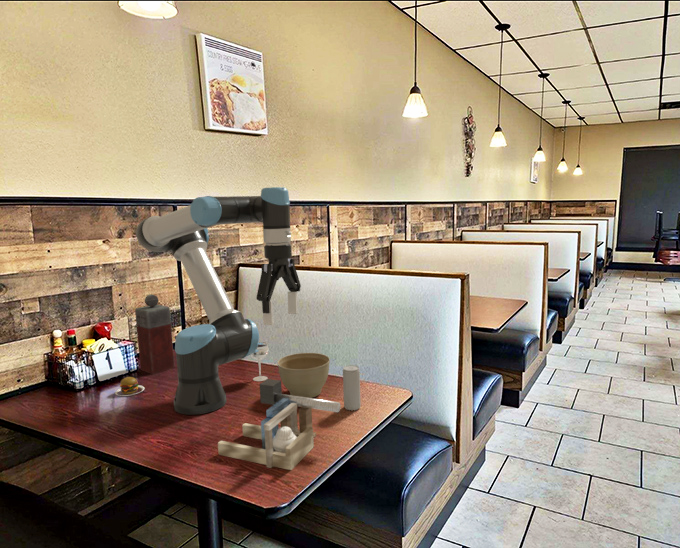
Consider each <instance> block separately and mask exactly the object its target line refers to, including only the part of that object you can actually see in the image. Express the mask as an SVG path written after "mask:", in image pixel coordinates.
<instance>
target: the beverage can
mask: <svg viewBox="0 0 680 548" xmlns="http://www.w3.org/2000/svg"><path fill="white" fill-rule="evenodd" d="M342 369H343V370H342V383H343V384H342V386H343V387H342V388H343V408H345V410H347V411H350V410H351V411H352V412H353V410H354V411H357V410H359V409H360V408H361V407H362V406H361V402H362V401H361V376H360V375H361V372H360V370H361V369H360V367H359V366H358V365H356V364H355V365H353V364H350V365H345V366H343V368H342ZM351 411H350V412H351Z"/></svg>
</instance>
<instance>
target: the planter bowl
mask: <svg viewBox="0 0 680 548" xmlns="http://www.w3.org/2000/svg"><path fill="white" fill-rule="evenodd" d="M330 361H331V359H330V357H329V356H327V355H326V354H322V353H318V352H300V353H299V352H298V353H292V354H289V355H286V356H283V357H281V358H280V359H278V360H277V367H278V374H279V377H280V379H281V380H280V381H281V383H282V384H283V386H284V387H285V389H287V390H288V391H289V395H293V396H299V397H306V398H313V399H314V398H315V397H317V396H319V395H320V394H321V392H322V390H323V388H324V385H325V384H326V381H327V379H328V377H329V372H330V363H331V362H330Z"/></svg>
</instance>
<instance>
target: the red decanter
mask: <svg viewBox="0 0 680 548" xmlns="http://www.w3.org/2000/svg"><path fill="white" fill-rule="evenodd" d="M144 303H145V305H146V306H141V307H136V308H135V310H134V312H135V323H136V331H137V332H136V333H137V344H138V355H139V365H140V371H143V372H145V373H147V374H149V375H155V374H158V373H162V372H166V371H168V370H171V369H174V368H175V356H174V346H173V332H172V320H171V309H170V307H169V306H166V305H161V304H159V297H158V296H157V295H156V294H147V295H146V297H145V299H144Z"/></svg>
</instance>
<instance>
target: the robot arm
mask: <svg viewBox="0 0 680 548" xmlns="http://www.w3.org/2000/svg"><path fill="white" fill-rule="evenodd" d="M260 192H261V193H260V195H249V196H248V195H247V196H245V195H244V196H243V195H242V196H241V195H240V196H239V195H238V196H234V195H233V196H213V195H212V196H211V195H205V196H198V197H196V198H194V199H193V200H192V202H191V204H189V205H187V206H185V207H182V208H180V209H177V210H174V211H172V212H169V213H167V214H164V215H161V216H159V215H152V216H149V217H147V218H144V219H142V220H141V221H140V222H139V223H138V225H137V227H136V229H135V237H136V240H137V241H138V243H139V244H140V245H141V247H143V248H144V249H146V250H148V251H151V252H155V253H164V252H165V253H166V252H171V253H172V255H173V258H174V260H176V261H179V262H181V263H182V265H183V268H184V270H185V272H186V274H187V276H188V278H189V280H190V283H191V285H192V287H193V289H194V291H195V293H196V295H197V297H198V299H199V302H200V303H201V306H202V308H203V310H204V312H205V314H206V316H207V319H208V320H209V322H208V323H203V324H199V325H197V324H196V325H192V326H188V327H186V328H185V329H182V330H180V331H179V332H178V333H177V335H175V338H174V341H175V342H174V344H175V345H174V351H175V358H176V370H177V379H178V381H177V387H176V391H175V394H174V395H175V397H174V399H173V409H174V411H175V412H176V413H178V414H181V415H194V416H195V415H203V414H208V413H212V412H214V411H217V410H219V409H221V408H222V407H224V406H225V405H226V403H227V395H226V392H225V390H224V387H223V385H222V383H221V380H220V375H219V366H221V365H224V364H225V365H226V364H229V363H231V362H234V361H237V360H240V359H241V360H242V359H245V358H246V357H249V356H250V355H251V354H253V353H254V352H255V351H256V349H257V347H258V344H259V342H260V333H259V329H258V327H257V326H258V325H257V324H256V322H254V321H253V320H251V319H249V318H245V317H244V316H243V314H242V311H239V310H237V309H235V308H234V306H233V303H232V302H231V300H230V298H229V296H228V294H227V292H226V290H225V288H224V286H223V283H222V281H221V280H220V277H219V275H218V274H217V272H216V270H215V267H214V265H213V263H212V261H211V259H210V257H209V255H208V253H207V251H206V250H207V249H208V243H209V240H210V235H209V229H208V228H213V227H216V226H219V225H232V224H252V223H253V224H254V223H262V230H263V231H262V233H263V234H262V235H263V243H264V244H265V245H264V247H263V249H264V251H263V252H264V258H265V259H267V260H268V263H262V264H261V274H260V279H259V283H258V288H257V293H256V296H255V298H256V300H257V301H259V302H261V307H262V321H263V325H264V326H268V325H269V326H273V325H275V324H274V323H275V322H274V308H273V300H271V299H272V296H273V294H274V290H275V289H276V284H277V282H278V281H279V280H280V279H282V280H283V282H284V283H285V286H286V287H287V289H288V291H287V307H288V308H287V310H288V312H287V313H288V315H289V314H290V315H298V314H299V310H298V309H299V308H298V292H301V287H302V285H301V281H300V278H299V276H298V271H297V270H296V264H295V259H294V258H292V256H293V251H292V245H291V244H290V243H291V242H292V237H291V236H292V232H291V215H290V214H291V211H290V210H291V209H290V204H291V201H290V196H289V195H290V194H289V189H288V188H286V187H284V186H283V187H281V186H278V187H277V186H276V187H272V186H271V187H263V188H261V191H260Z"/></svg>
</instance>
